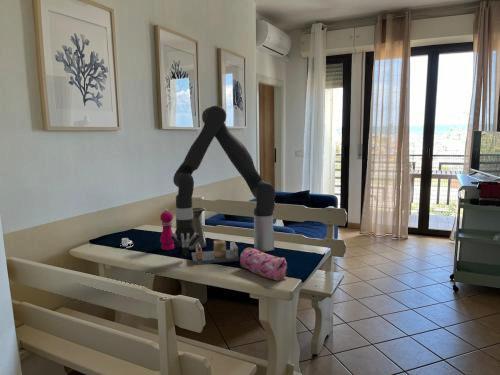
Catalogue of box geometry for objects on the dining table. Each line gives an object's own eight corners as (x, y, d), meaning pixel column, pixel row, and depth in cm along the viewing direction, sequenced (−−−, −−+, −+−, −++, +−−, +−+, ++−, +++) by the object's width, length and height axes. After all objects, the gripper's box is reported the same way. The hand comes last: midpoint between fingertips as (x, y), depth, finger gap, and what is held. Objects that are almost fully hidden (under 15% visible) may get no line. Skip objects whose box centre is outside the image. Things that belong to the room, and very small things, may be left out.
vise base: (234, 252, 176) (233, 241, 175) (238, 260, 164) (238, 248, 163) (191, 255, 172) (191, 244, 171) (193, 264, 160) (192, 252, 159)
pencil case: (290, 277, 145) (290, 256, 144) (275, 284, 139) (275, 261, 138) (252, 264, 160) (252, 244, 159) (236, 269, 154) (236, 249, 153)
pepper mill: (171, 250, 179) (170, 210, 176) (157, 250, 180) (156, 210, 177) (177, 246, 186) (176, 207, 183) (164, 245, 187) (162, 207, 184)
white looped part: (128, 242, 194) (128, 235, 193) (138, 245, 189) (137, 237, 189) (113, 247, 187) (113, 239, 186) (123, 249, 182) (122, 241, 182)
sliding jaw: (200, 251, 171) (200, 241, 171) (202, 259, 162) (202, 248, 161) (196, 252, 171) (195, 241, 170) (197, 259, 161) (197, 248, 160)
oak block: (224, 252, 171) (224, 240, 170) (226, 255, 166) (225, 243, 165) (213, 253, 170) (213, 240, 169) (215, 256, 165) (214, 243, 164)
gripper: (169, 220, 157) (170, 258, 160) (200, 218, 160) (201, 256, 163) (169, 216, 165) (170, 253, 167) (198, 214, 167) (199, 251, 170)
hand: (185, 254), depth 165 cm, fingers closed
